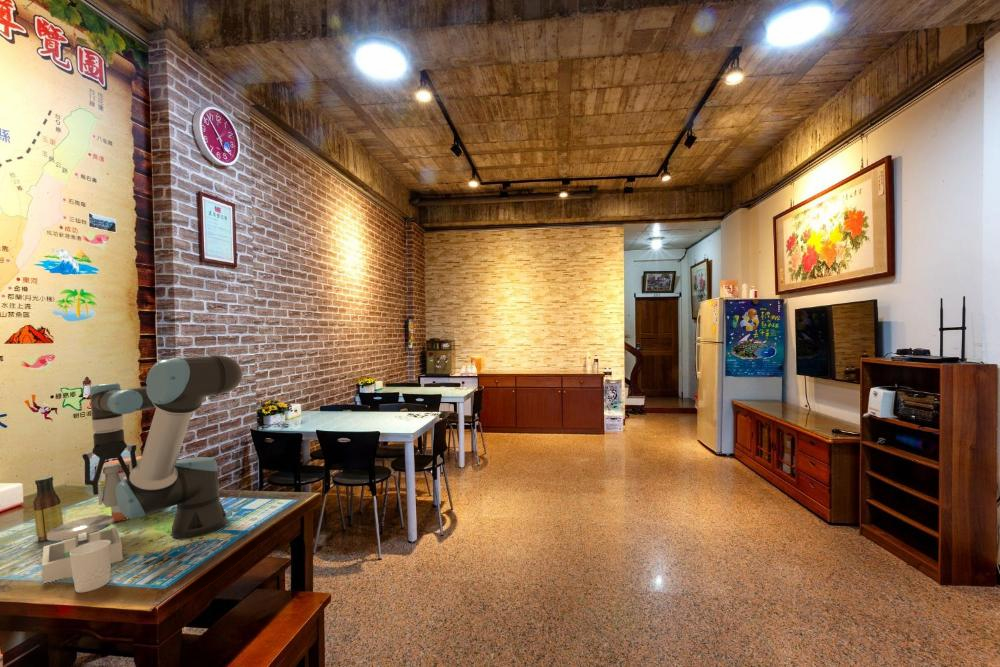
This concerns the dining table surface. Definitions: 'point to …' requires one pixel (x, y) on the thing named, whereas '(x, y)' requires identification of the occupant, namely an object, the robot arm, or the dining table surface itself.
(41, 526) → the sauce bottle
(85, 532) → the grey shiny rounded piece
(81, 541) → the peak pointer
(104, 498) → the salt shaker
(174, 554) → the dining table surface
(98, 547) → the white cup
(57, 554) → the square open box
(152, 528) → the dining table surface
